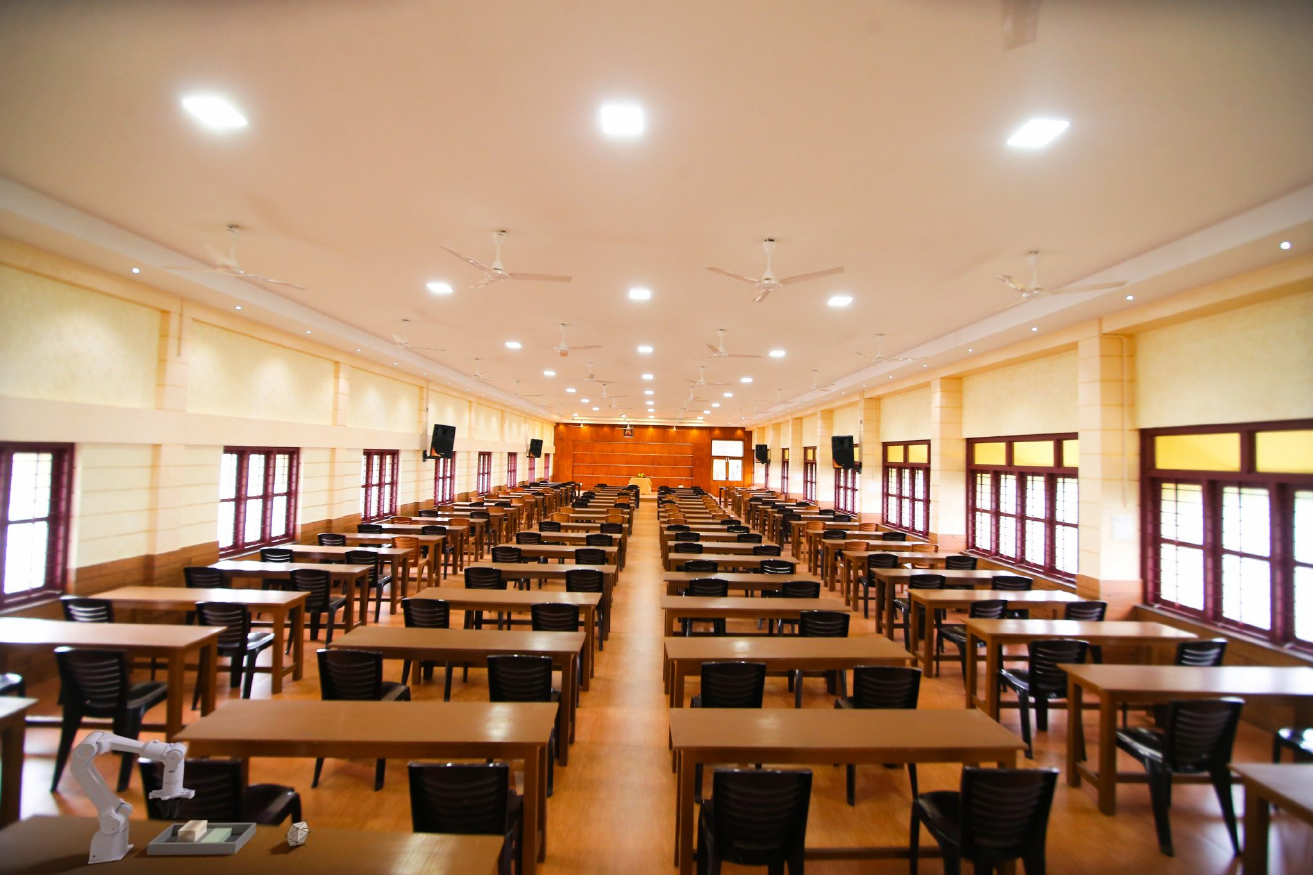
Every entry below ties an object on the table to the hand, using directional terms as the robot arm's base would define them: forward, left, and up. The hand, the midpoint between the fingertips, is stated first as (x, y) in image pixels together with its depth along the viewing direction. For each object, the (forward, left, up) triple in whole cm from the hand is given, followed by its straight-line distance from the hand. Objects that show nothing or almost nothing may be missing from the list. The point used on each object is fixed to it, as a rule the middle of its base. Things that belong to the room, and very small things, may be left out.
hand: (170, 817), depth 212 cm
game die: (+45, -11, -10) cm, 47 cm away
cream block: (+8, -2, -7) cm, 11 cm away
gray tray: (+12, -3, -9) cm, 15 cm away
